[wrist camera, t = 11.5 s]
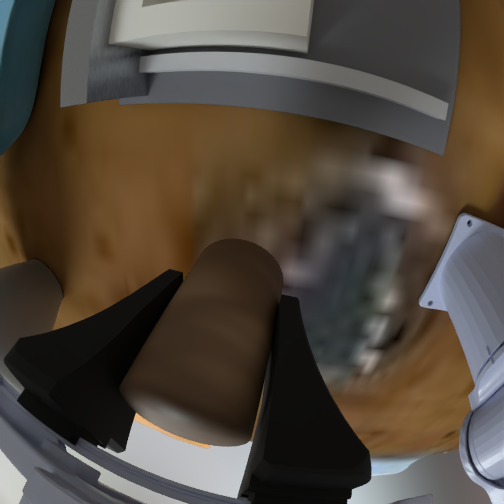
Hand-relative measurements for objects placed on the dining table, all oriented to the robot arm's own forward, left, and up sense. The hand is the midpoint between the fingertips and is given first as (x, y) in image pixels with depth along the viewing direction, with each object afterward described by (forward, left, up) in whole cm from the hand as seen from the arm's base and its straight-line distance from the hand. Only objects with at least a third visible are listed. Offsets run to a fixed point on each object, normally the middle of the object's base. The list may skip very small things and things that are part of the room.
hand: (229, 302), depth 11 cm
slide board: (0, -15, -8) cm, 17 cm away
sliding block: (+3, -15, -7) cm, 17 cm away
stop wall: (+9, -15, -7) cm, 19 cm away
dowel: (0, 0, -2) cm, 2 cm away
